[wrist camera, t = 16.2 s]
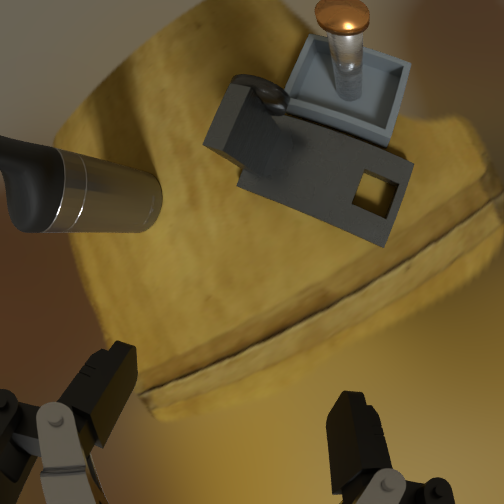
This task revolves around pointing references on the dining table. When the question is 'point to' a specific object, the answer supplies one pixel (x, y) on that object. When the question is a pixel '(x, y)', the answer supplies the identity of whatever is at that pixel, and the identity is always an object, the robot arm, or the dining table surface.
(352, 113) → the tray
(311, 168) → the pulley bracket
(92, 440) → the robot arm
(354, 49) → the lock pin
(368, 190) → the dining table surface
